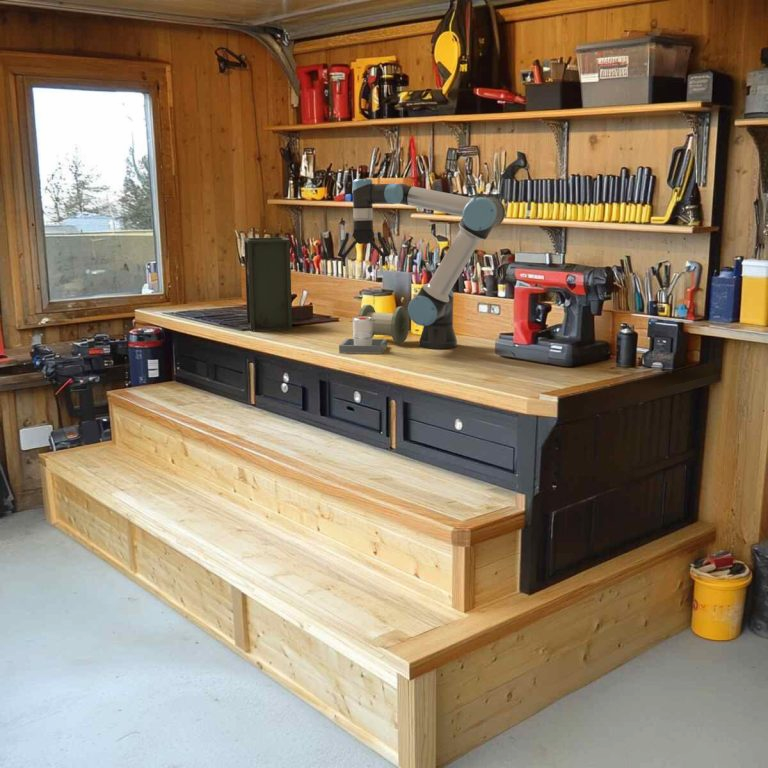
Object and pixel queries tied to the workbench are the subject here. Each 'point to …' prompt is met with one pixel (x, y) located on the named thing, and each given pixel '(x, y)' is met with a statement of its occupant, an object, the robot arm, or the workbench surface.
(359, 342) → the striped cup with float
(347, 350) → the tray
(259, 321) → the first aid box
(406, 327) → the spool
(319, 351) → the workbench surface
